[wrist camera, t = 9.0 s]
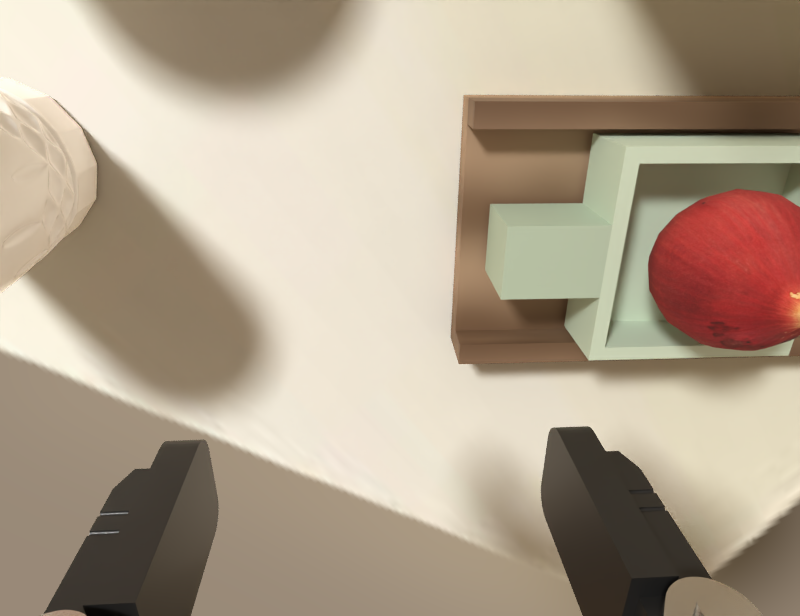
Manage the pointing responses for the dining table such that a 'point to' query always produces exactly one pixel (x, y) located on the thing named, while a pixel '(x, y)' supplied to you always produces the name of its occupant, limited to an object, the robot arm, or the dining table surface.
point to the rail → (558, 195)
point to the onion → (731, 270)
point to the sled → (630, 234)
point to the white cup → (39, 178)
